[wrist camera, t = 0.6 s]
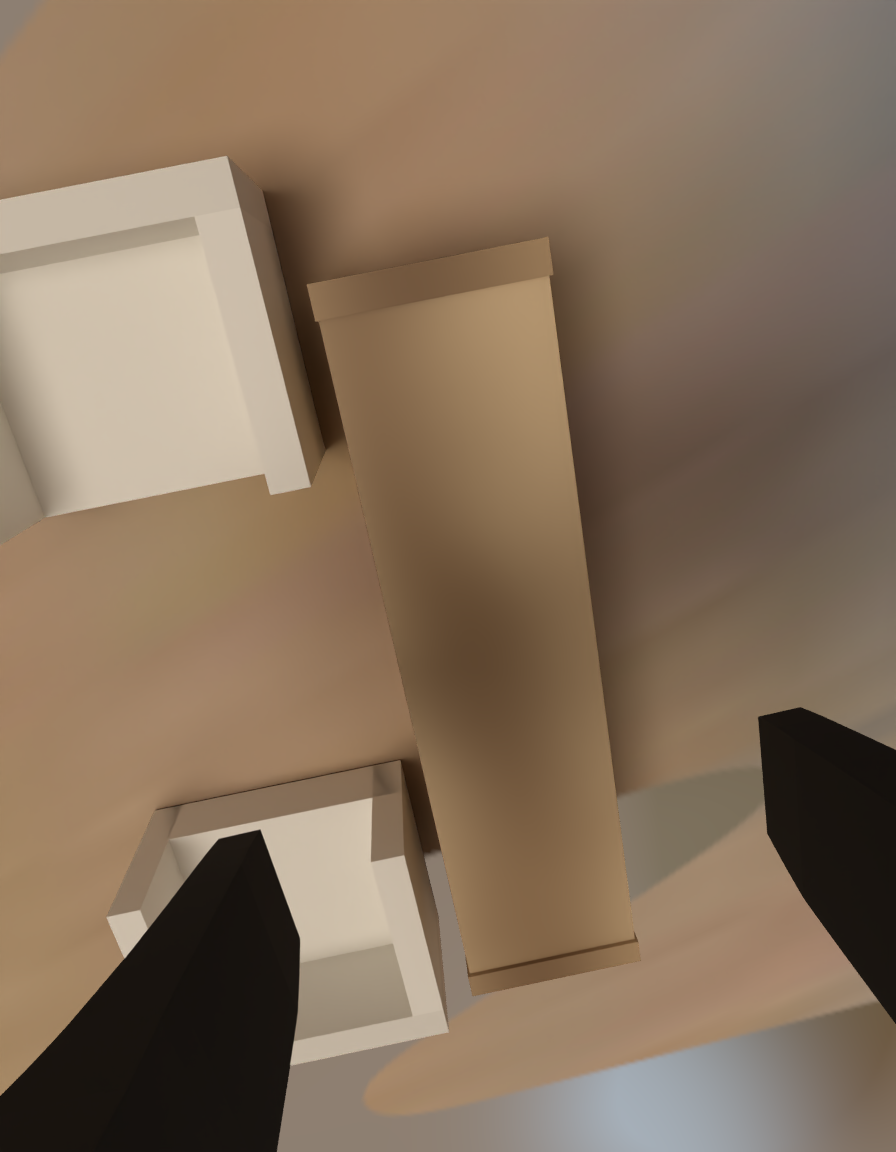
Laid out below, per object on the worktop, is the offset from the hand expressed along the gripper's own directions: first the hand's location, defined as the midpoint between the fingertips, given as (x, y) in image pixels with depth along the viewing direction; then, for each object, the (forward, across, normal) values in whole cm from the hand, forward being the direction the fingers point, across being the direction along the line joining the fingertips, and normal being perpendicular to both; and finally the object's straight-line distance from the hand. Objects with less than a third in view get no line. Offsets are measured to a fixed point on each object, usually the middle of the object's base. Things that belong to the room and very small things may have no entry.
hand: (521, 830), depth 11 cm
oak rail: (+10, 0, 0) cm, 10 cm away
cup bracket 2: (+10, +6, +7) cm, 14 cm away
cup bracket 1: (+10, +6, -7) cm, 13 cm away
